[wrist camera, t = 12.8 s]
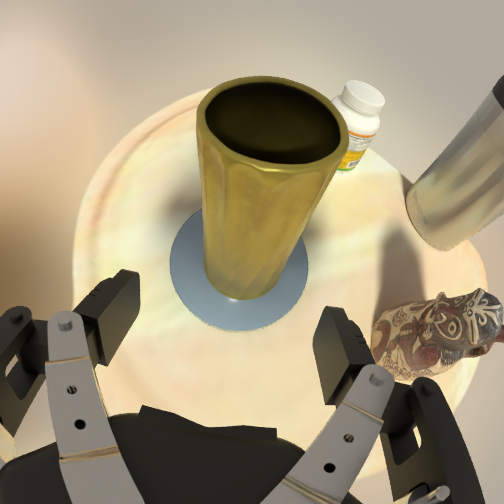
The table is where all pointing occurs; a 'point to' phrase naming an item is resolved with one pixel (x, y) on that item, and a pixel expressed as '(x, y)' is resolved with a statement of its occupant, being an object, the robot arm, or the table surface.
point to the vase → (262, 176)
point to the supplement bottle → (358, 119)
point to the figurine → (436, 334)
